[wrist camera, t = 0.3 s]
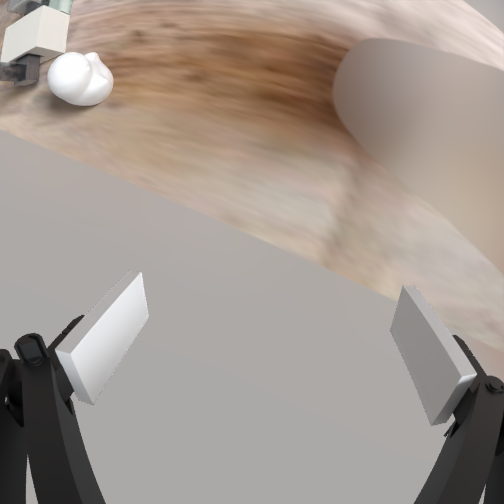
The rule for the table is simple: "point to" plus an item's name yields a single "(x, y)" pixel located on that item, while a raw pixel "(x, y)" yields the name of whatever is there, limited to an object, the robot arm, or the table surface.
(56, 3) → the tray
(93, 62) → the figurine
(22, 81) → the grey l-shaped bracket
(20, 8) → the block
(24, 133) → the table surface
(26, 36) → the housing
